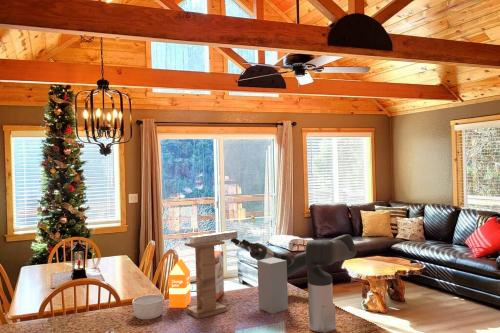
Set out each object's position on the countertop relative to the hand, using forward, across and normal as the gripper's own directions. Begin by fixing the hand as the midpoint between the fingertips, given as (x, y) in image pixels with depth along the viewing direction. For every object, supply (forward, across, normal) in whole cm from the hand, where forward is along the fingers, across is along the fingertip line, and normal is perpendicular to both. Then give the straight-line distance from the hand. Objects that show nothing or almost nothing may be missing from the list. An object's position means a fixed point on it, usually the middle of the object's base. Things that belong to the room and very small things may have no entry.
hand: (236, 240), depth 198 cm
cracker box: (-12, +16, -26) cm, 33 cm away
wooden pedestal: (0, 0, -33) cm, 33 cm away
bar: (+11, 0, -5) cm, 12 cm away
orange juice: (+4, +17, -35) cm, 39 cm away
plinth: (-20, -16, -22) cm, 34 cm away
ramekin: (+18, +13, -44) cm, 49 cm away
